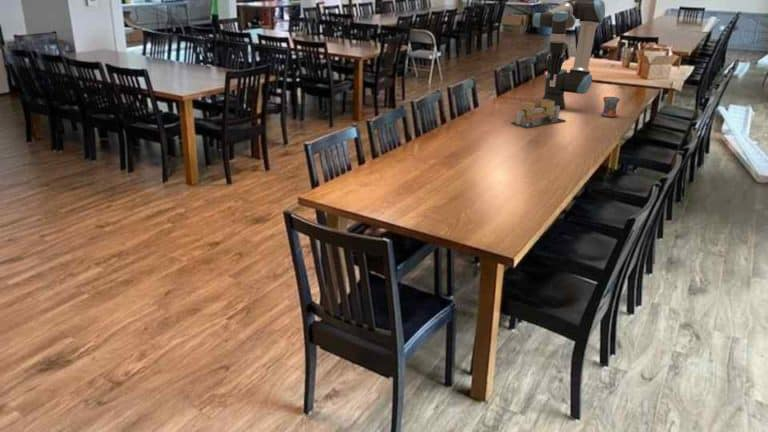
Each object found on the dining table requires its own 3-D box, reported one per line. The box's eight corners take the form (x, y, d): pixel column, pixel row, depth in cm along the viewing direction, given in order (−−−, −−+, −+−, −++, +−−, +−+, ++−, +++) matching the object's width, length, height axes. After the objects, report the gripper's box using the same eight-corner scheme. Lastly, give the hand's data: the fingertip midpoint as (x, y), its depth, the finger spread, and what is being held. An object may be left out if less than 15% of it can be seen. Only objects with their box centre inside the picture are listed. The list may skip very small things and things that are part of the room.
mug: (614, 118, 353) (617, 100, 349) (598, 116, 358) (601, 98, 354) (620, 114, 362) (623, 97, 357) (604, 112, 367) (607, 95, 363)
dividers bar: (514, 123, 336) (516, 103, 332) (553, 116, 351) (555, 97, 347) (523, 125, 331) (525, 105, 326) (562, 119, 345) (565, 100, 341)
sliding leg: (539, 118, 346) (541, 99, 341) (544, 117, 347) (546, 99, 343) (549, 120, 340) (551, 102, 336) (554, 119, 342) (556, 101, 338)
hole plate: (511, 123, 339) (511, 121, 338) (549, 117, 353) (550, 114, 353) (526, 128, 329) (526, 125, 329) (565, 121, 344) (565, 119, 343)
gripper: (553, 43, 318) (548, 88, 327) (571, 41, 324) (565, 86, 333) (543, 41, 324) (538, 86, 333) (560, 40, 330) (555, 84, 339)
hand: (552, 86), depth 333 cm, fingers closed
